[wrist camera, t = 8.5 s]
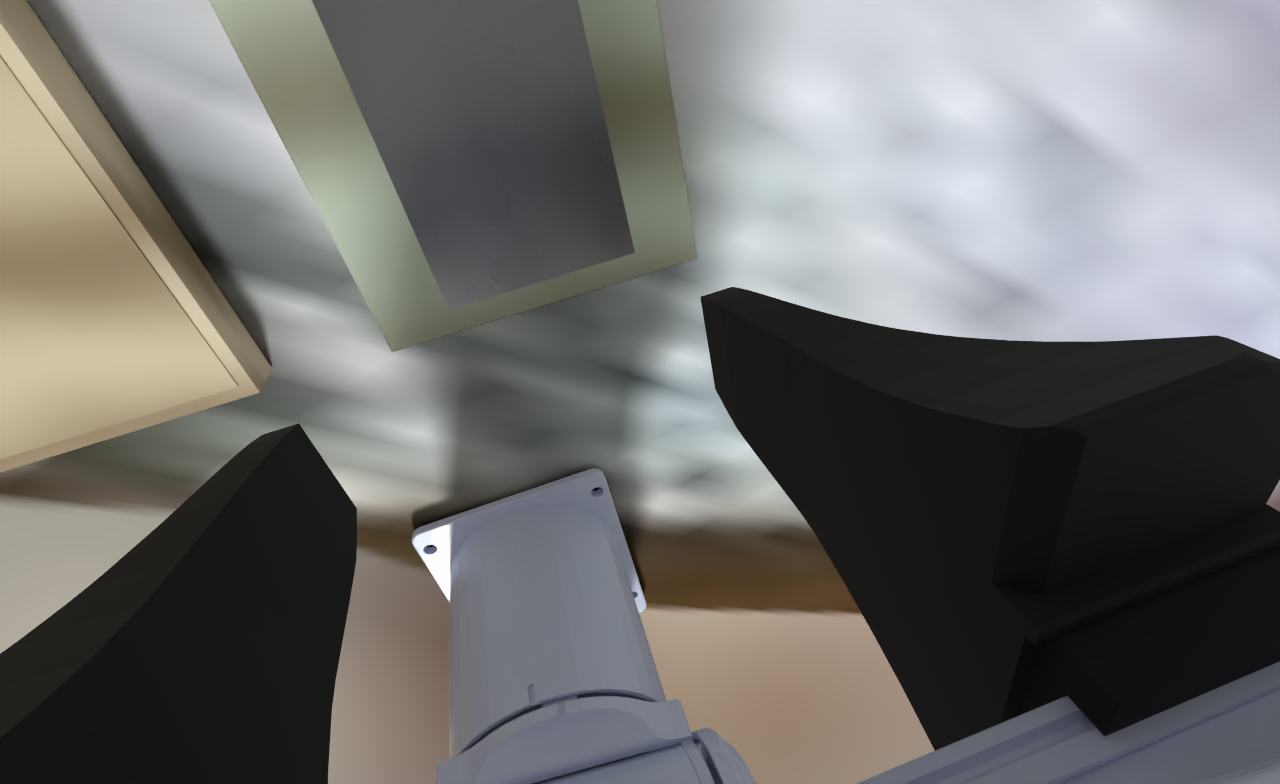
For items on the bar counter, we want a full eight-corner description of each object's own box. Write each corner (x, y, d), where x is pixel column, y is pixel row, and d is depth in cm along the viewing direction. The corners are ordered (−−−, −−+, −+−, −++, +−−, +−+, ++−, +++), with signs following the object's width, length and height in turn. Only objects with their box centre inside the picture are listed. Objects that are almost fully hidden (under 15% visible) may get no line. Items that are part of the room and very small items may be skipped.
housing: (595, 202, 17) (635, 252, 14) (449, 246, 17) (448, 310, 13) (519, -99, 14) (544, -145, 10) (326, -52, 13) (275, -82, 9)
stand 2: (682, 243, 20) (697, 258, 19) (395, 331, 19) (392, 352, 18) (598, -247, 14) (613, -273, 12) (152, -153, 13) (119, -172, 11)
